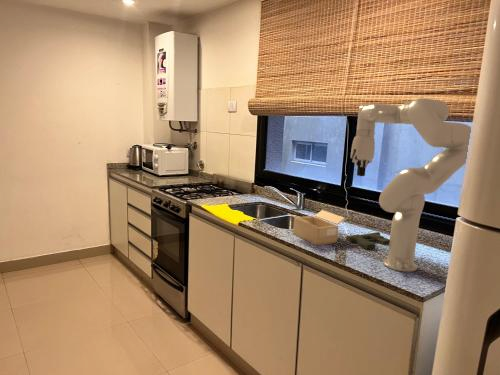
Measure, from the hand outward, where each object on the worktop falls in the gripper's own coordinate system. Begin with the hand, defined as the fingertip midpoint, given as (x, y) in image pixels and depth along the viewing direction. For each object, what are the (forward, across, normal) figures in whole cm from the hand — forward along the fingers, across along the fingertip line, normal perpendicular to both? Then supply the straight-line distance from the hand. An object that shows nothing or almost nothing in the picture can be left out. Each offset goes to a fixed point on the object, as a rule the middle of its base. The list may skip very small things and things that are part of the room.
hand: (360, 175), depth 163 cm
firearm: (+33, -12, 0) cm, 35 cm away
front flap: (+22, +19, -14) cm, 33 cm away
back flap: (+22, +3, -14) cm, 26 cm away
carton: (+32, +11, -14) cm, 37 cm away
